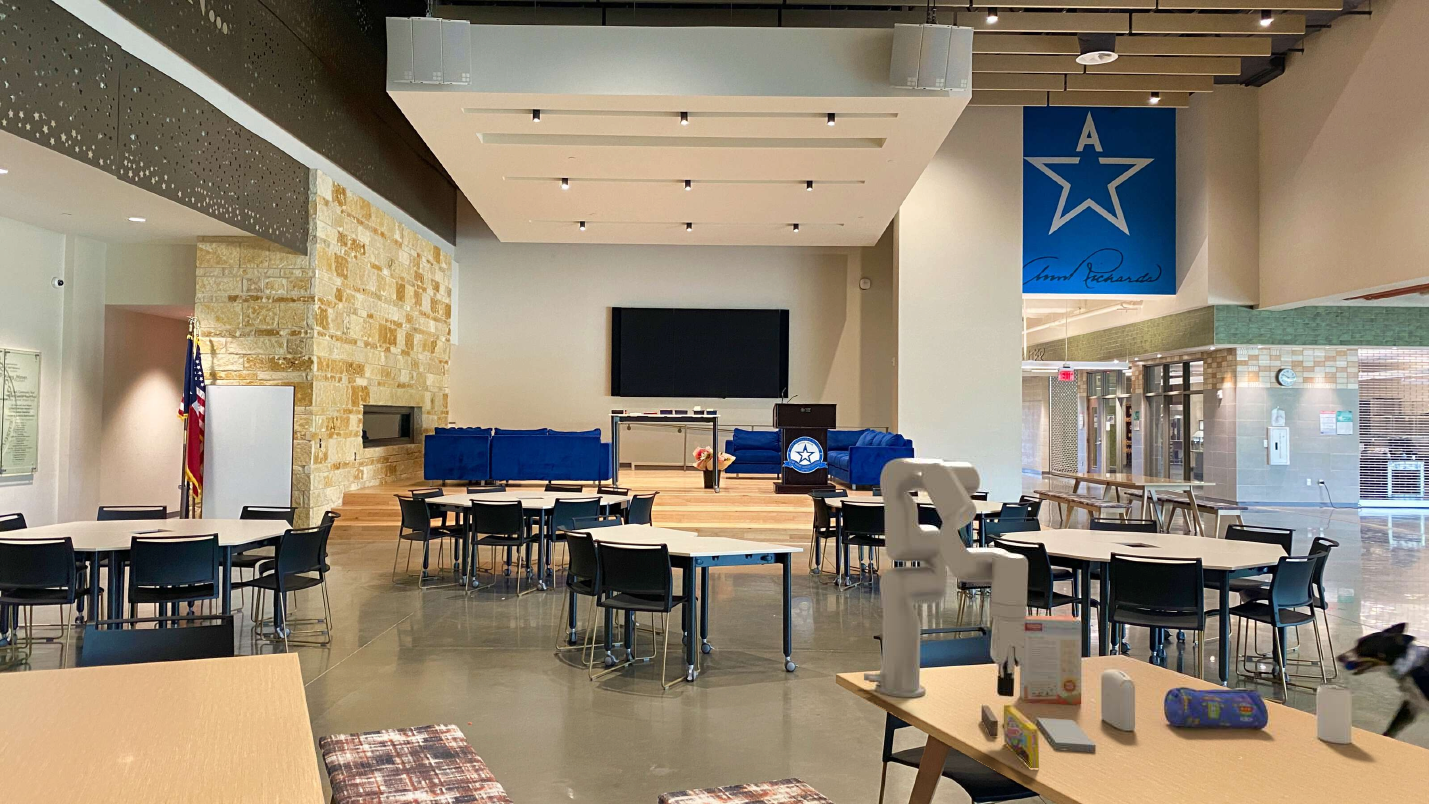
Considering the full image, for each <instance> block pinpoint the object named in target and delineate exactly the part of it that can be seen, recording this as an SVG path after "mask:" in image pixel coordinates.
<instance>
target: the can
mask: <svg viewBox="0 0 1429 804" xmlns="http://www.w3.org/2000/svg"><path fill="white" fill-rule="evenodd" d="M1316 737H1317V738H1318V739H1319V740H1321V741H1323V742H1326V743H1331V744H1334V743H1335V745H1349V744H1350V743H1351V742H1352V693H1351V692H1350V687H1348V686H1346V685H1343V684H1339V683H1334V682H1320V683H1318V688H1317V689H1316ZM1348 743H1349V744H1348Z"/></svg>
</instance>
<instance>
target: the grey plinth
mask: <svg viewBox="0 0 1429 804" xmlns="http://www.w3.org/2000/svg"><path fill="white" fill-rule="evenodd" d="M1036 725H1038V726H1039V727H1040V728H1039V727H1038V726H1037V727H1038V728H1039V730H1040V729H1041V730H1042V731H1041V730H1040V731H1041V732H1042V733H1043V735H1044V734H1045V735H1046V736H1047V737H1046V736H1045V735H1044V736H1045V737H1046V739H1047V738H1048V739H1049V740H1050V741H1049V740H1048V739H1047V740H1048V741H1049V742H1051V743H1052V744H1053V745H1052V744H1051V743H1050V744H1051V745H1052V747H1053V746H1054V747H1055V748H1056V749H1066V750H1065V751H1069V750H1078V751H1077V752H1083V751H1088V752H1087V753H1096V752H1097V750H1096V747H1097V745H1096V744H1095V742H1093V740H1092V739H1091V738H1090V737H1089V736H1088V735H1087V734H1086V733H1085V731H1083V729H1082V728H1081V727H1080V726H1079V725H1078V724H1077V723H1076V722H1075V721H1074V720H1073V719H1063V718H1062V719H1061V718H1046V717H1036ZM1054 747H1053V748H1054ZM1055 748H1054V749H1055ZM1056 749H1055V750H1056Z"/></svg>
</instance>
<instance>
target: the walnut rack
mask: <svg viewBox="0 0 1429 804" xmlns="http://www.w3.org/2000/svg"><path fill="white" fill-rule="evenodd" d="M996 717H997V716H995V714H994V712H993V710H992V709H991V708H990V706H989V705H983V704H982V705H981V718H980V719H981V720H982V721H981V722H983V723H984V724H983V723H982V724H983V726H984V725H985V726H984V728H985V727H986V728H987V730H988V731H987V730H986V731H987V733H988V732H989V733H988V735H989V734H990V735H989V737H990V736H998V735H999V729H998V728H999V727H998V726H999V720H998V718H996ZM986 728H985V729H986Z"/></svg>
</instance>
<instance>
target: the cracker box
mask: <svg viewBox="0 0 1429 804" xmlns="http://www.w3.org/2000/svg"><path fill="white" fill-rule="evenodd" d="M1021 630H1022V631H1021V661H1020V665H1019V697H1020V698H1021V699H1022V701H1023V702H1025V703H1038V702H1047V703H1046V704H1060V703H1062V705H1065V704H1066V705H1076V704H1079V705H1082V621H1081V619H1078V618H1076V617H1073V616H1053V615H1027V614H1026V620H1023V621H1021Z"/></svg>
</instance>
